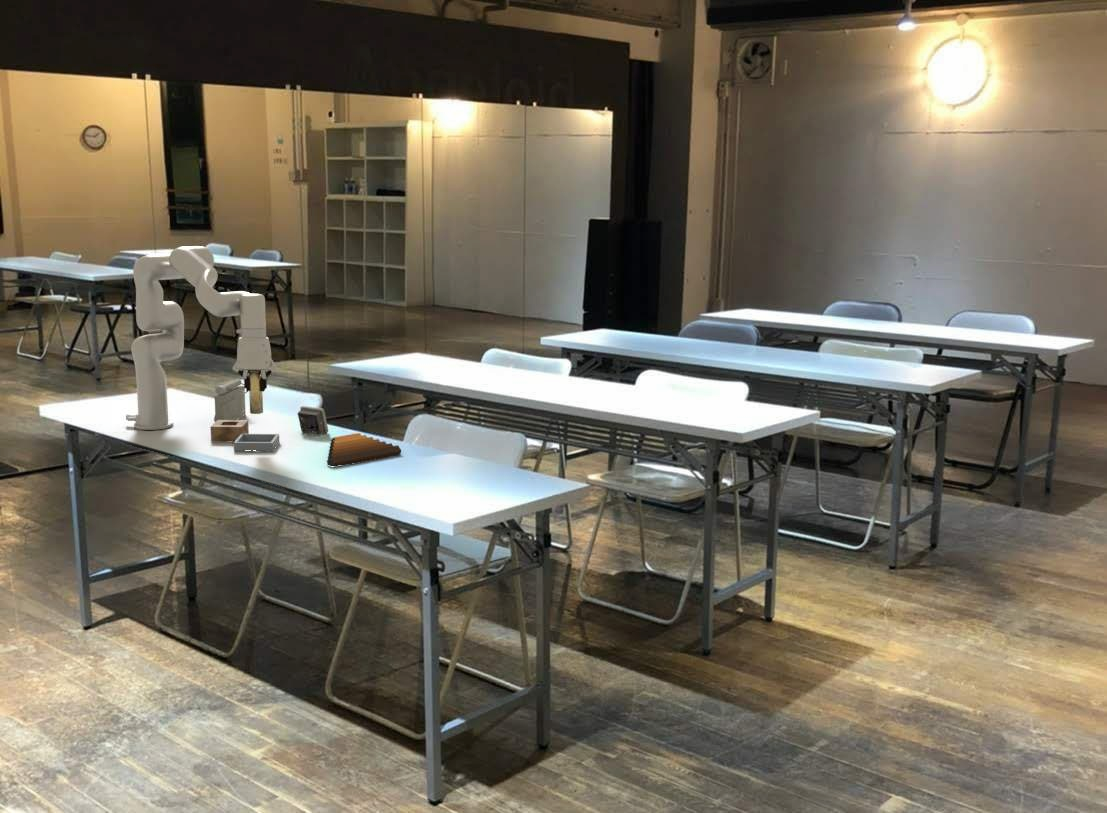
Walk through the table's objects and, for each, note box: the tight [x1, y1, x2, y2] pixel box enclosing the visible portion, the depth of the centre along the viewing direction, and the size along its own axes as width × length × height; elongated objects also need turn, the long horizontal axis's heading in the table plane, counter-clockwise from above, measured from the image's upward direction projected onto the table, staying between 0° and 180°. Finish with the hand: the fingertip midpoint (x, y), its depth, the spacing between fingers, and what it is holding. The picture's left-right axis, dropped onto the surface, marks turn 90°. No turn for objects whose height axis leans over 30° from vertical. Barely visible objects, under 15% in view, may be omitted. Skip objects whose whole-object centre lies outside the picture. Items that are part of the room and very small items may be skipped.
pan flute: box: [326, 432, 402, 466], centre depth 327 cm, size 25×3×25 cm
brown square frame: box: [210, 419, 250, 442], centre depth 341 cm, size 10×10×5 cm
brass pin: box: [248, 370, 264, 415], centre depth 327 cm, size 4×4×14 cm
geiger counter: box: [213, 378, 248, 423], centre depth 363 cm, size 14×6×25 cm
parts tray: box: [233, 433, 280, 452], centre depth 331 cm, size 12×12×3 cm
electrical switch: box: [297, 405, 329, 436], centre depth 351 cm, size 9×5×9 cm, turn 67°
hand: (255, 390), depth 327 cm, fingers closed on brass pin, 4 cm apart
